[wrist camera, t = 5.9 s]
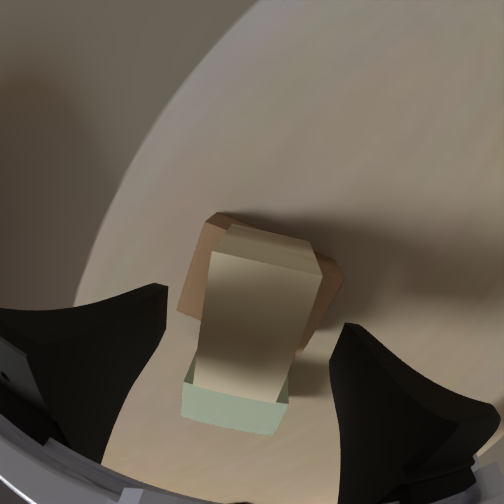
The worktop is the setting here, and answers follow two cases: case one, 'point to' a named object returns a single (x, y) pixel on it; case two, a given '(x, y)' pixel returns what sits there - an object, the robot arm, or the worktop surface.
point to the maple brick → (254, 312)
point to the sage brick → (232, 408)
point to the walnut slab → (199, 270)
